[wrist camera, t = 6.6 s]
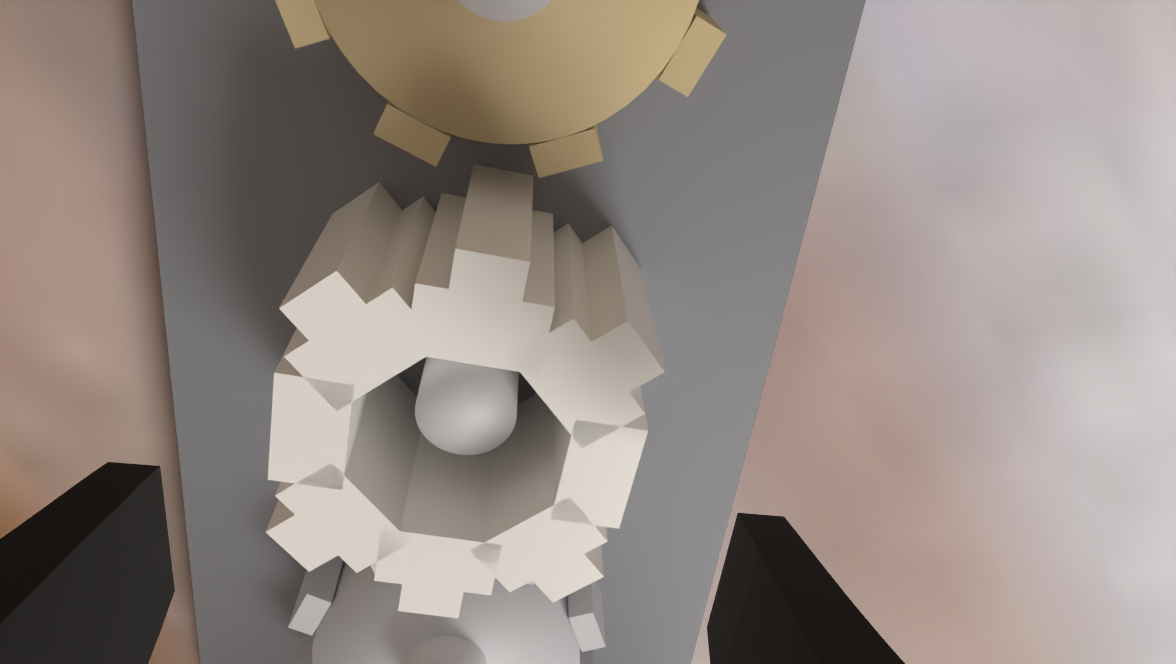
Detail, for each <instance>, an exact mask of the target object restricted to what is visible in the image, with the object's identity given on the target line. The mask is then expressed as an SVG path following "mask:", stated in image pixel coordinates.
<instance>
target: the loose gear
mask: <svg viewBox="0 0 1176 664" xmlns="http://www.w3.org/2000/svg"><path fill="white" fill-rule="evenodd" d="M532 202H533V175H528V174H523V173H518V172H513V171H507V170H502V169H497V168H492V167H487V166H481V165H476V164H474V165H473V170H472V174H471V179H470V183H469V188H468V192H467V197H461V196H456V195H450V194H445V193H441V196H440V200H439V203H438V207H437V210H436V212H435V210H434V209H433V208H432V207H431V205H430V204H429V203H428V202H427V200H426V199H425V198H424V196H423V197H422V198H420V199H419V200H417V201H416V202H414V203H413V204H411V205H410V206H408V207H407V208H405V209H403V210H401V208H400V207H399V206H398V205H397V203H396V202H395V201H394V200H393V198H392V197H391V196H390V195H389V193H388V192H387V191H386V190H385V188H384V187H383V186H382V185H381V183H380V182H379V183H377V184H376V185H374V186H373V187H371V188H370V189H368V190H367V191H365V192H364V193H362V194H361V195H359V196H358V197H356V198H355V199H354V200H352V201H351V202H349V203H348V204H346V205H345V206H343V207H342V208H340V209H339V210H337V211H336V212H334V213H333V214H332V216H331V217H330V219H329V221H328V223H327V224H326V226H325V228H324V230H323V232H322V233H321V235H320V237H319V239H318V240H317V242H316V244H315V246H314V247H313V249H312V251H311V253H310V254H309V256H308V258H307V260H306V262H305V263H304V265H303V267H302V269H301V270H300V272H299V274H298V276H297V277H296V279H295V281H294V283H293V284H292V286H291V288H290V290H289V291H288V293H287V295H286V297H285V299H284V300H283V302H282V304H281V306H280V307H279V309H280V310H281V311H282V312H283V313H284V314H285V316H286V317H287V318H288V319H289V320H290V321H291V322H292V323H293V324H294V325H295V326H296V327H297V329H296V330H295V332H294V334H293V336H292V338H291V340H290V342H289V344H288V346H287V348H286V350H285V352H284V354H283V356H282V358H281V360H280V362H279V364H278V366H277V368H276V370H275V372H274V382H273V399H272V416H271V432H270V449H269V466H268V480H273V481H281V482H280V485H279V487H278V489H277V492H276V494H275V496H276V497H277V498H278V499H279V500H278V502H277V505H276V507H275V510H274V512H273V515H272V517H271V520H270V522H269V525H268V527H267V530H266V533H267V534H268V535H269V536H270V537H271V538H272V539H273V540H275V541H276V542H277V543H278V544H279V545H280V546H281V547H282V548H283V549H284V550H286V551H287V552H288V553H289V554H290V555H291V556H292V557H293V558H294V559H295V560H296V561H298V562H299V563H300V564H301V565H302V566H303V567H304V568H305V569H306V570H307V571H309V572H310V571H311V570H313V569H315V568H317V567H319V566H320V565H322V564H324V563H326V562H327V561H329V560H331V559H333V558H335V557H336V556H339V557H340V558H341V559H342V560H343V561H345V562H346V563H347V564H348V565H349V566H350V567H351V568H352V569H353V570H354V571H355V572H356V573H358V572H359V571H361V570H363V569H365V568H367V567H368V566H370V565H372V564H374V563H376V562H377V563H376V570H375V578H374V581H380V582H388V583H396V584H402V589H401V595H400V601H399V608H398V611H402V612H410V613H418V614H427V615H435V616H443V617H451V618H459V613H460V608H461V603H462V598H463V593H464V592H467V593H475V594H483V595H491V594H492V589H493V585H494V580H495V578H496V579H497V580H498V581H499V582H500V583H501V584H502V585H503V586H504V587H505V588H506V589H507V590H508V591H509V592H512V591H513V590H515V589H517V588H519V587H521V586H523V585H525V584H527V583H529V582H531V581H533V582H534V583H535V584H536V585H537V586H538V587H539V588H540V589H541V590H542V592H543V593H544V594H545V595H546V596H547V597H548V598H549V599H550V600H551V601H552V602H553V603H554V602H555V601H557V600H559V599H561V598H563V597H565V596H567V595H569V594H571V593H573V592H575V591H577V590H579V589H581V588H583V587H585V586H587V585H589V584H591V583H593V582H595V581H597V580H599V579H601V578H603V577H604V571H603V558H602V544H604V543H606V542H608V539H607V528H606V527H610V528H617V529H619V527H620V524H621V521H622V517H623V514H624V511H625V507H626V504H627V501H628V497H629V494H630V491H631V487H632V484H633V480H634V477H635V474H636V470H637V467H638V464H639V460H640V457H641V454H642V450H643V447H644V443H645V440H646V437H647V433H648V427H647V421H646V415H645V409H644V404H643V398H642V392H641V385H643V384H645V383H646V382H648V381H650V380H652V379H654V378H655V377H657V376H659V375H661V374H662V373H664V372H665V371H664V366H663V362H662V357H661V353H660V349H659V344H658V340H657V335H656V331H655V326H654V322H653V317H652V313H651V308H650V304H649V300H648V295H647V291H646V286H645V282H644V277H643V273H642V269H641V268H640V266H639V265H638V263H637V262H636V260H635V259H634V257H633V256H632V254H631V253H630V251H629V250H628V249H627V247H626V246H625V244H624V243H623V241H622V240H621V238H620V237H619V235H618V234H617V232H616V231H615V230H614V228H613V227H612V226H610V227H608V228H607V229H605V230H603V231H602V232H600V233H599V234H597V235H595V236H594V237H592V238H590V239H589V240H587V241H585V242H584V243H582V242H581V241H580V239H579V238H578V236H577V235H576V234H575V232H574V231H573V229H572V228H571V227H570V225H569V224H566V225H564V226H563V227H561V228H560V229H558V230H556V231H555V232H553V214H552V213H547V212H541V211H536V210H532ZM425 357H431V358H437V359H443V360H449V361H455V362H462V363H468V364H474V365H480V366H486V367H492V368H499V369H505V370H511V371H517V372H520V373H521V374H522V375H523V376H524V378H525V379H526V380H527V381H528V383H529V384H530V385H531V386H532V387H533V389H534V390H535V391H536V392H537V394H535V395H534V396H532V397H530V398H528V399H527V400H525V401H523V402H521V403H520V404H518V405H517V418H516V424H515V426H514V429H513V431H512V433H511V434H510V436H509V437H508V438H507V439H506V440H505V441H504V442H503V443H502V444H501V445H499V446H498V447H496V448H495V449H493V450H490V451H488V452H485V453H481V454H476V455H460V454H454V453H450V452H447V451H444V450H442V449H440V448H438V447H437V446H435V445H434V444H432V443H431V442H430V441H429V440H428V439H427V438H426V437H425V436H424V435H423V434H422V432H421V431H420V429H419V427H418V425H417V422H416V418H415V405H416V400H417V397H416V395H415V394H414V393H413V392H412V391H411V390H410V389H409V388H408V386H407V385H406V384H405V383H404V382H403V381H402V380H401V379H400V378H399V376H398V375H397V374H399V373H400V372H402V371H404V370H405V369H407V368H409V367H410V366H412V365H413V364H415V363H417V362H418V361H420V360H422V359H423V358H425Z"/></svg>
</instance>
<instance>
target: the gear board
mask: <svg viewBox="0 0 1176 664" xmlns="http://www.w3.org/2000/svg"><path fill="white" fill-rule="evenodd" d="M864 4H865V0H132V5H133V15H134V25H135V34H136V44H137V54H138V64H139V73H140V83H141V93H142V102H143V112H144V122H145V132H146V141H147V151H148V161H149V171H150V180H151V190H152V200H153V210H154V219H155V229H156V239H157V248H158V258H159V268H160V278H161V287H162V297H163V307H164V317H165V326H166V336H167V346H168V356H169V365H170V375H171V385H172V394H173V404H174V414H175V424H176V433H177V443H178V453H179V463H180V472H181V482H182V492H183V502H184V511H185V521H186V531H187V540H188V550H189V560H190V570H191V579H192V589H193V599H194V609H195V618H196V628H197V638H198V648H199V657H200V664H691V660H692V657H693V653H694V649H695V645H696V641H697V638H698V634H699V630H700V626H701V622H702V619H703V615H704V611H705V607H706V603H707V600H708V596H709V592H710V588H711V584H712V581H713V577H714V573H715V569H716V566H717V562H718V558H719V554H720V550H721V547H722V543H723V539H724V535H725V531H726V528H727V524H728V520H729V516H730V512H731V509H732V505H733V501H734V497H735V493H736V490H737V486H738V482H739V478H740V474H741V471H742V467H743V463H744V459H745V456H746V452H747V448H748V444H749V440H750V437H751V433H752V429H753V425H754V421H755V418H756V414H757V410H758V406H759V402H760V399H761V395H762V391H763V387H764V383H765V380H766V376H767V372H768V368H769V365H770V361H771V357H772V353H773V349H774V346H775V342H776V338H777V334H778V330H779V327H780V323H781V319H782V315H783V311H784V308H785V304H786V300H787V296H788V292H789V289H790V285H791V281H792V277H793V274H794V270H795V266H796V262H797V258H798V255H799V251H800V247H801V243H802V239H803V236H804V232H805V228H806V224H807V220H808V217H809V213H810V209H811V205H812V201H813V198H814V194H815V190H816V186H817V183H818V179H819V175H820V171H821V167H822V164H823V160H824V156H825V152H826V148H827V145H828V141H829V137H830V133H831V129H832V126H833V122H834V118H835V114H836V110H837V107H838V103H839V99H840V95H841V91H842V88H843V84H844V80H845V76H846V73H847V69H848V65H849V61H850V57H851V54H852V50H853V46H854V42H855V38H856V35H857V31H858V27H859V23H860V19H861V16H862V12H863V8H864ZM474 164H476V165H481V166H487V167H492V168H497V169H502V170H507V171H513V172H518V173H523V174H528V175H533V202H532V210H536V211H541V212H547V213H552V214H553V232H555V231H556V230H558V229H560V228H561V227H563V226H564V225H566V224H569V225H570V227H571V228H572V229H573V231H574V232H575V234H576V235H577V236H578V238H579V239H580V241H581V242H582V243H584V242H585V241H587V240H589V239H590V238H592V237H594V236H595V235H597V234H599V233H600V232H602V231H603V230H605V229H607V228H608V227H610V226H612V227H613V228H614V230H615V231H616V232H617V234H618V235H619V237H620V238H621V240H622V241H623V243H624V244H625V246H626V247H627V249H628V250H629V251H630V253H631V254H632V256H633V257H634V259H635V260H636V262H637V263H638V265H639V266H640V268H641V269H642V273H643V277H644V282H645V286H646V291H647V295H648V300H649V304H650V308H651V313H652V317H653V322H654V326H655V331H656V335H657V340H658V344H659V349H660V353H661V357H662V362H663V366H664V371H665V372H664V373H662V374H661V375H659V376H657V377H655V378H654V379H652V380H650V381H648V382H646V383H645V384H643V385H641V392H642V398H643V404H644V409H645V415H646V421H647V427H648V433H647V437H646V440H645V443H644V447H643V450H642V454H641V457H640V460H639V464H638V467H637V470H636V474H635V477H634V480H633V484H632V487H631V491H630V494H629V497H628V501H627V504H626V507H625V511H624V514H623V517H622V521H621V524H620V527H619V529H617V528H610V527H606V528H607V539H608V542H606V543H604V544H602V558H603V571H604V577H603V578H601V579H599V580H597V581H595V582H593V583H591V584H589V585H587V586H585V587H583V588H581V589H579V590H577V591H575V592H573V593H571V594H569V595H567V596H565V597H563V598H561V599H559V600H557V601H555V602H554V603H553V602H552V601H551V600H550V599H549V598H548V597H547V596H546V595H545V594H544V593H543V592H542V590H541V589H540V588H539V587H538V586H537V585H536V584H535V583H534V582H533V581H531V582H529V583H527V584H525V585H523V586H521V587H519V588H517V589H515V590H513V591H512V592H509V591H508V590H507V589H506V588H505V587H504V586H503V585H502V584H501V583H500V582H499V581H498V580H497V579H496V578H495V580H494V585H493V589H492V594H491V595H483V594H475V593H467V592H464V593H463V598H462V603H461V608H460V613H459V618H451V617H443V616H435V615H427V614H418V613H410V612H402V611H398V608H399V601H400V595H401V589H402V584H396V583H388V582H380V581H374V578H375V570H376V563H377V562H376V563H374V564H372V565H370V566H368V567H367V568H365V569H363V570H361V571H359V572H358V573H356V572H355V571H354V570H353V569H352V568H351V567H350V566H349V565H348V564H347V563H346V562H345V561H343V560H342V559H341V558H340V557H339V556H336V557H335V558H333V559H331V560H329V561H327V562H326V563H324V564H322V565H320V566H319V567H317V568H315V569H313V570H311V571H310V572H309V571H307V570H306V569H305V568H304V567H303V566H302V565H301V564H300V563H299V562H298V561H296V560H295V559H294V558H293V557H292V556H291V555H290V554H289V553H288V552H287V551H286V550H284V549H283V548H282V547H281V546H280V545H279V544H278V543H277V542H276V541H275V540H273V539H272V538H271V537H270V536H269V535H268V534H267V533H266V530H267V527H268V525H269V522H270V520H271V517H272V515H273V512H274V510H275V507H276V505H277V502H278V500H279V499H278V498H277V497H276V496H275V494H276V492H277V489H278V487H279V485H280V482H281V481H273V480H268V466H269V449H270V432H271V416H272V399H273V382H274V372H275V370H276V368H277V366H278V364H279V362H280V360H281V358H282V356H283V354H284V352H285V350H286V348H287V346H288V344H289V342H290V340H291V338H292V336H293V334H294V332H295V330H296V329H297V327H296V326H295V325H294V324H293V323H292V322H291V321H290V320H289V319H288V318H287V317H286V316H285V314H284V313H283V312H282V311H281V310H280V309H279V307H280V306H281V304H282V302H283V300H284V299H285V297H286V295H287V293H288V291H289V290H290V288H291V286H292V284H293V283H294V281H295V279H296V277H297V276H298V274H299V272H300V270H301V269H302V267H303V265H304V263H305V262H306V260H307V258H308V256H309V254H310V253H311V251H312V249H313V247H314V246H315V244H316V242H317V240H318V239H319V237H320V235H321V233H322V232H323V230H324V228H325V226H326V224H327V223H328V221H329V219H330V217H331V216H332V214H333V213H334V212H336V211H337V210H339V209H340V208H342V207H343V206H345V205H346V204H348V203H349V202H351V201H352V200H354V199H355V198H356V197H358V196H359V195H361V194H362V193H364V192H365V191H367V190H368V189H370V188H371V187H373V186H374V185H376V184H377V183H379V182H380V183H381V185H382V186H383V187H384V188H385V190H386V191H387V192H388V193H389V195H390V196H391V197H392V198H393V200H394V201H395V202H396V203H397V205H398V206H399V207H400V208H401V210H403V209H405V208H407V207H408V206H410V205H411V204H413V203H414V202H416V201H417V200H419V199H420V198H422V197H423V196H424V198H425V199H426V200H427V202H428V203H429V204H430V205H431V207H432V208H433V209H434V210H435V212H436V210H437V207H438V203H439V200H440V196H441V193H445V194H450V195H456V196H461V197H467V192H468V188H469V183H470V179H471V174H472V170H473V165H474ZM397 375H398V376H399V378H400V379H401V380H402V381H403V382H404V383H405V384H406V385H407V386H408V388H409V389H410V390H411V391H412V392H413V393H414V394H415V395H416V397H417V400H416V405H415V418H416V422H417V425H418V427H419V429H420V431H421V432H422V434H423V435H424V436H425V437H426V438H427V439H428V440H429V441H430V442H431V443H432V444H434V445H435V446H437V447H438V448H440V449H442V450H444V451H447V452H450V453H454V454H460V455H476V454H481V453H485V452H488V451H490V450H493V449H495V448H496V447H498V446H499V445H501V444H502V443H503V442H504V441H505V440H506V439H507V438H508V437H509V436H510V434H511V433H512V431H513V429H514V426H515V424H516V418H517V405H518V404H520V403H521V402H523V401H525V400H527V399H528V398H530V397H532V396H534V395H535V394H537V392H536V391H535V390H534V389H533V387H532V386H531V385H530V384H529V383H528V381H527V380H526V379H525V378H524V376H523V375H522V374H521V373H520V372H517V371H511V370H505V369H499V368H492V367H486V366H480V365H474V364H468V363H462V362H455V361H449V360H443V359H437V358H431V357H425V358H423V359H422V360H420V361H418V362H417V363H415V364H413V365H412V366H410V367H409V368H407V369H405V370H404V371H402V372H400V373H399V374H397Z"/></svg>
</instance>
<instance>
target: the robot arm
mask: <svg viewBox="0 0 1176 664" xmlns="http://www.w3.org/2000/svg"><path fill="white" fill-rule="evenodd" d="M174 591H175V590H174V581H173V573H172V564H171V555H170V547H169V538H168V530H167V521H166V513H165V504H164V496H163V487H162V478H161V470H160V466H150V465H138V464H126V463H113V462H108V463H106V464H105V465H103V466H102V467H100V468H99V469H97V470H96V471H94V472H93V473H92V474H90V475H89V476H87V477H86V478H84V479H83V480H82V481H80V482H79V483H78V484H76V485H75V486H73V487H72V488H71V489H69V490H68V491H66V492H65V493H64V494H62V495H61V496H60V497H58V498H57V499H55V500H54V501H53V502H51V503H50V504H49V505H47V506H46V507H44V508H43V509H42V510H40V511H39V512H38V513H36V514H35V515H33V516H32V517H31V518H29V519H28V520H27V521H25V522H24V523H22V524H21V525H20V526H18V527H17V528H15V529H14V530H12V531H11V532H10V533H8V534H7V535H5V536H4V537H3V538H1V539H0V664H148V662H149V660H150V657H151V654H152V652H153V649H154V647H155V644H156V641H157V639H158V636H159V634H160V631H161V628H162V625H163V622H164V619H165V617H166V614H167V611H168V608H169V605H170V602H171V600H172V597H173V594H174ZM707 632H708V643H709V653H710V664H905V663H904V662H903V661H902V660H901V659H900V657H899V656H898V655H897V654H896V653H895V652H894V651H893V650H892V649H891V647H890V646H889V645H888V644H887V643H886V642H885V641H884V639H883V638H882V637H881V636H880V635H879V634H878V632H877V631H876V630H875V629H874V628H873V626H872V625H871V624H870V623H869V622H868V621H867V619H866V618H865V617H864V616H863V615H862V614H861V612H860V611H859V610H858V609H857V607H856V606H855V605H854V604H853V603H852V601H851V600H850V599H849V598H848V597H847V595H846V594H845V593H844V592H843V590H842V589H841V588H840V587H839V585H838V584H837V583H836V582H835V580H834V579H833V578H832V577H831V575H830V574H829V573H828V572H827V570H826V569H825V568H824V567H823V565H822V564H821V563H820V561H819V560H818V559H817V558H816V556H815V555H814V554H813V553H812V551H811V550H810V549H809V548H808V546H807V545H806V544H805V542H804V541H803V540H802V539H801V537H800V536H799V535H798V534H797V532H796V531H795V530H794V529H793V527H792V526H791V525H790V524H789V522H788V521H787V520H786V519H785V517H782V516H770V515H757V514H745V513H738V514H737V518H736V522H735V525H734V529H733V533H732V537H731V540H730V544H729V548H728V551H727V555H726V559H725V563H724V566H723V570H722V574H721V577H720V581H719V585H718V588H717V592H716V596H715V600H714V603H713V607H712V611H711V614H710V618H709V622H708V626H707Z"/></svg>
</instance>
